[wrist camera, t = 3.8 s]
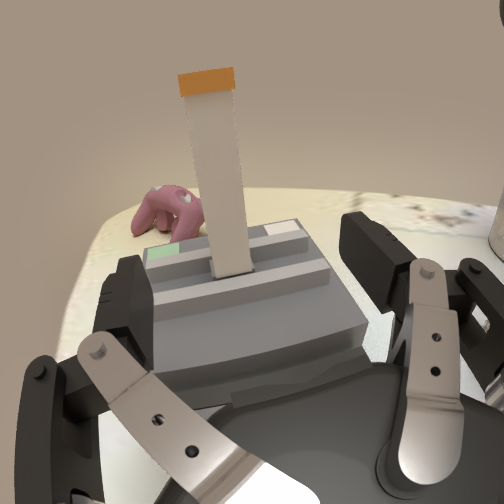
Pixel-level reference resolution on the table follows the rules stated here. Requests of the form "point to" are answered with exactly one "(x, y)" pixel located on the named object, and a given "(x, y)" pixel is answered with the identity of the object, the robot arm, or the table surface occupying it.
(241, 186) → the breaker lever
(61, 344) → the table surface
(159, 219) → the video game controller
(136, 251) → the table surface
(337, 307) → the breaker panel
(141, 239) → the table surface
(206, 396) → the grey long flat bar
